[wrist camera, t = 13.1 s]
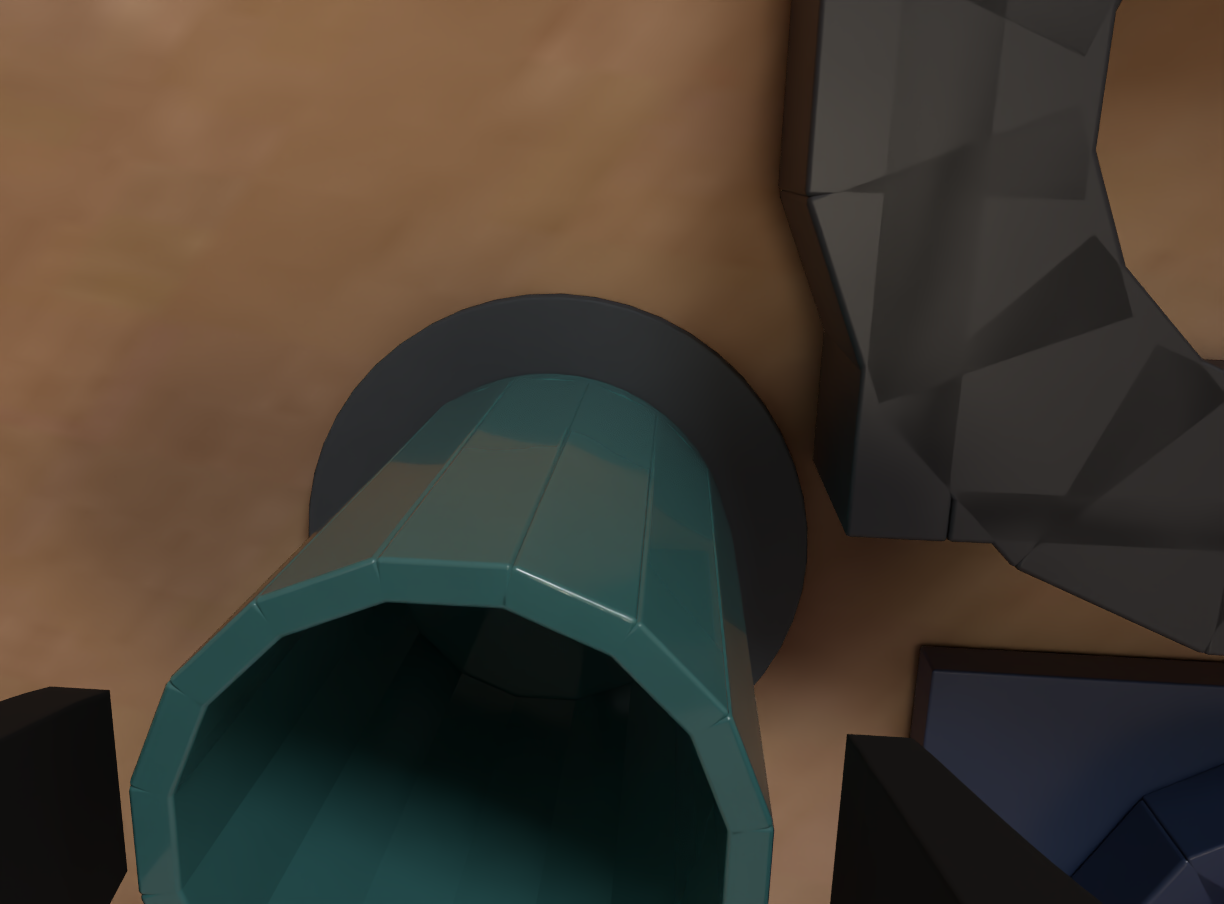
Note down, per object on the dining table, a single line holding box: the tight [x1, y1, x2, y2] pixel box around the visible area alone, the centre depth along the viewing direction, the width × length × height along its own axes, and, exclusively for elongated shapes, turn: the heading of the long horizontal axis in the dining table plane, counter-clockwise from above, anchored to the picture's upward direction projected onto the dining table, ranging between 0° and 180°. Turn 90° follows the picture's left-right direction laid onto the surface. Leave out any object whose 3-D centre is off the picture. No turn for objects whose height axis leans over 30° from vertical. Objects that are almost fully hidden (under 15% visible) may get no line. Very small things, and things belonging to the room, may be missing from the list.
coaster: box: [309, 294, 807, 685], centre depth 17 cm, size 8×8×1 cm
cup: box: [129, 374, 774, 904], centre depth 13 cm, size 6×6×8 cm
